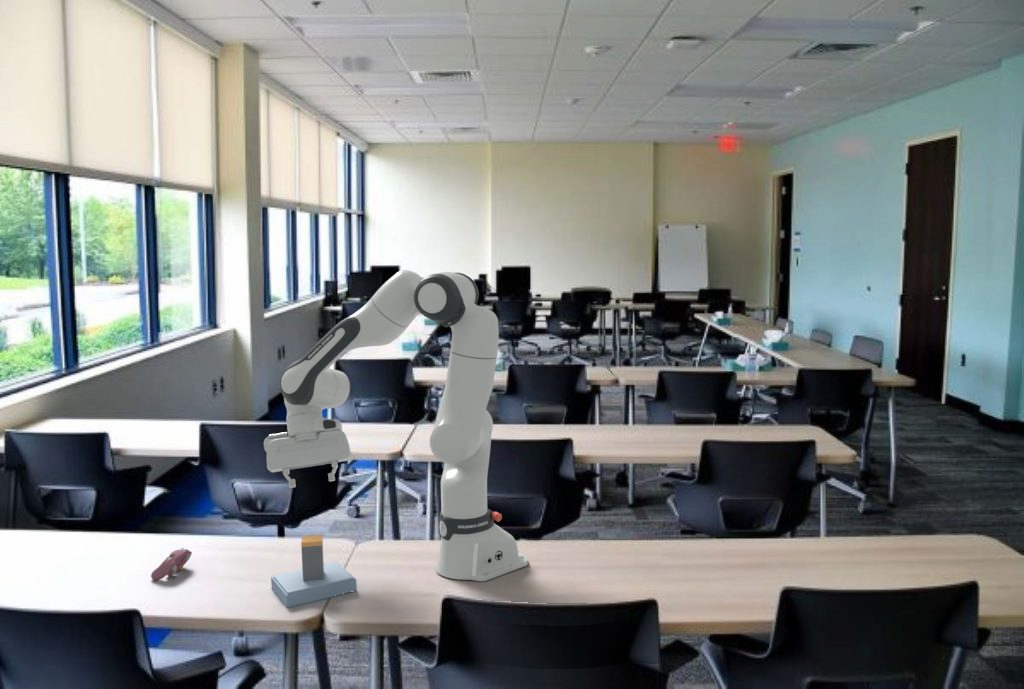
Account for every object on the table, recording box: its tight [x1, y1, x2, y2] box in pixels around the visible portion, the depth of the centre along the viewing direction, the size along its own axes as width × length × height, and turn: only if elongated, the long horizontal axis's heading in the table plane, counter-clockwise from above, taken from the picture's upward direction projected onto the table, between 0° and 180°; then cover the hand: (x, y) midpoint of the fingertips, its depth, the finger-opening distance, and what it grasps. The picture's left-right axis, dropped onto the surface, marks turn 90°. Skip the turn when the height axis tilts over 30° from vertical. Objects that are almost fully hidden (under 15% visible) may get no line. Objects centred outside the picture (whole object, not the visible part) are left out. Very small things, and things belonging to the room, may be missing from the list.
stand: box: [270, 561, 358, 609], centre depth 190 cm, size 16×12×3 cm
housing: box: [300, 534, 324, 581], centre depth 190 cm, size 4×4×9 cm
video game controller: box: [150, 547, 193, 581], centre depth 201 cm, size 10×5×7 cm, turn 170°
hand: (312, 483), depth 203 cm, fingers open, 8 cm apart
